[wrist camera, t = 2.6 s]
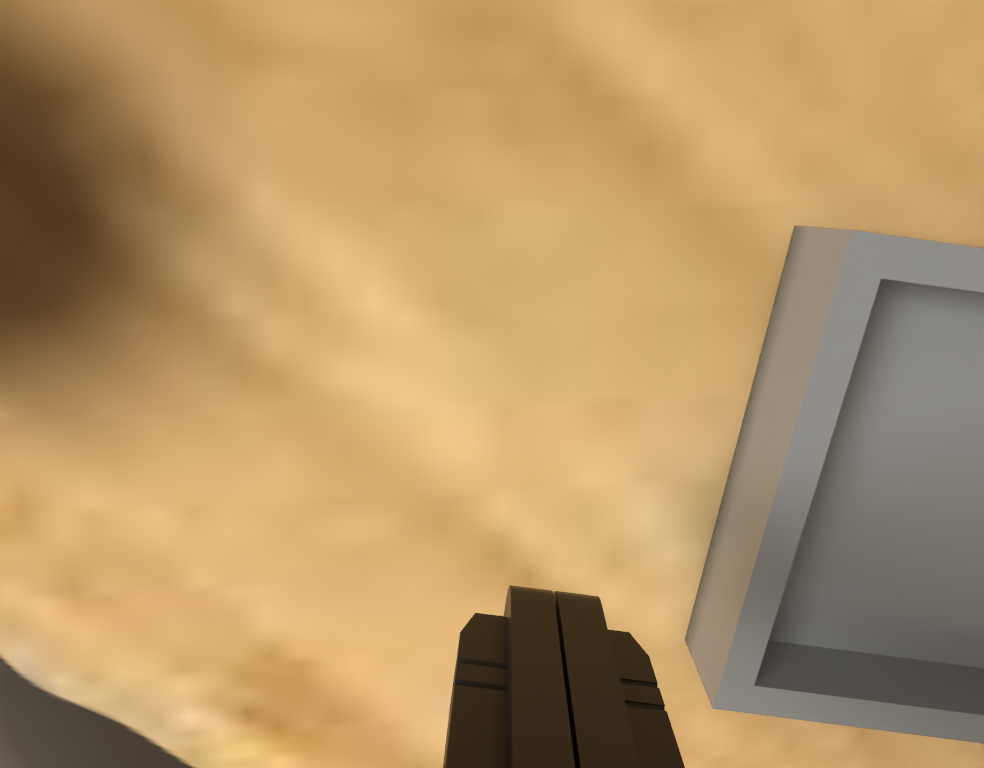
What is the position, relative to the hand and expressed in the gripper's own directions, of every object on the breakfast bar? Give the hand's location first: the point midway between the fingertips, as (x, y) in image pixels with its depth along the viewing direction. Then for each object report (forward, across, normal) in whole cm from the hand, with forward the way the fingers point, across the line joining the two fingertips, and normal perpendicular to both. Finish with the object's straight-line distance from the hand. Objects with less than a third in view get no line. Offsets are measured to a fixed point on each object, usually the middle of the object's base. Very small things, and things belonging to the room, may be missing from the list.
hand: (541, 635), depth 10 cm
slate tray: (+9, -16, 0) cm, 18 cm away
